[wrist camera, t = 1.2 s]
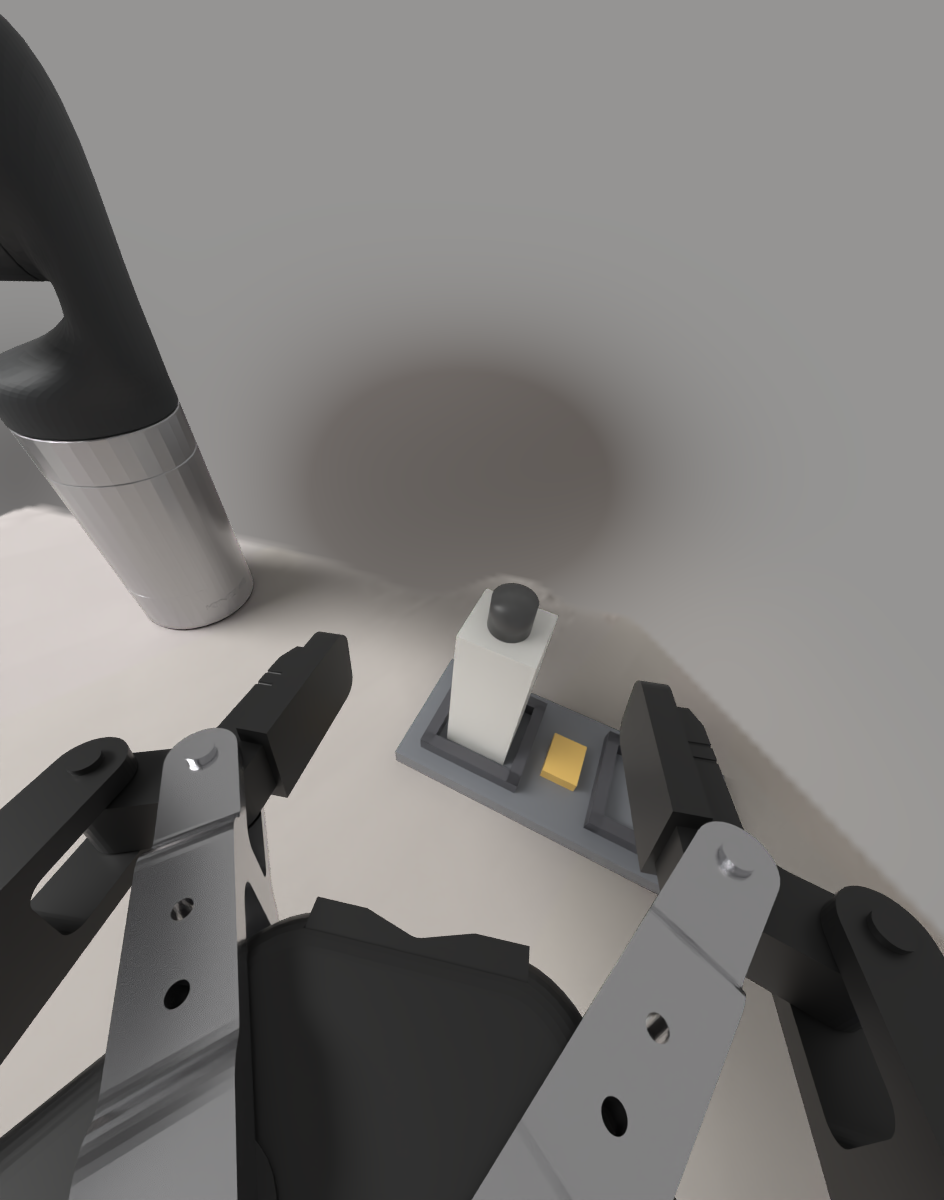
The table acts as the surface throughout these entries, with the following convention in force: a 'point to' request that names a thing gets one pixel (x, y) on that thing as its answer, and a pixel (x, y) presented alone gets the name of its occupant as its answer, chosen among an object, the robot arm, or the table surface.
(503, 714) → the plug
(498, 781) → the power strip
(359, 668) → the table surface
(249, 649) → the table surface
